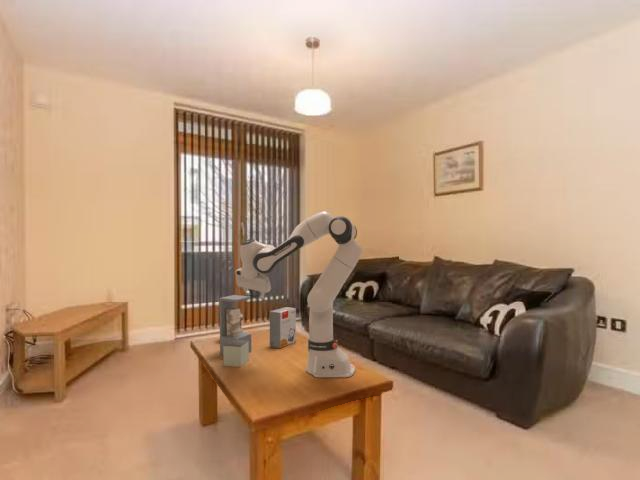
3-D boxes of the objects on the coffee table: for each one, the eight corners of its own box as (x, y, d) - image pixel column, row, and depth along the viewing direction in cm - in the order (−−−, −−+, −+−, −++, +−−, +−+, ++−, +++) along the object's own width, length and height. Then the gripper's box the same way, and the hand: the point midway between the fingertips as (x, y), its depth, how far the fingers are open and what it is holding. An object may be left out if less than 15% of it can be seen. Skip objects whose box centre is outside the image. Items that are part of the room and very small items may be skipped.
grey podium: (251, 351, 194) (250, 296, 194) (237, 357, 184) (236, 299, 184) (234, 348, 200) (233, 294, 199) (220, 354, 190) (219, 298, 190)
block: (240, 334, 194) (239, 308, 193) (233, 336, 189) (233, 309, 189) (233, 333, 196) (232, 307, 196) (226, 335, 192) (226, 309, 192)
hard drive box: (280, 349, 198) (279, 312, 197) (269, 346, 202) (268, 311, 201) (296, 341, 211) (296, 307, 210) (285, 339, 215) (285, 306, 215)
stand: (248, 360, 180) (248, 340, 180) (241, 366, 171) (240, 346, 171) (232, 359, 182) (231, 339, 182) (223, 365, 173) (223, 345, 173)
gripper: (272, 272, 176) (275, 298, 180) (241, 266, 186) (244, 290, 191) (263, 277, 171) (266, 303, 175) (232, 270, 181) (236, 295, 186)
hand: (255, 296), depth 183 cm, fingers open, 8 cm apart
